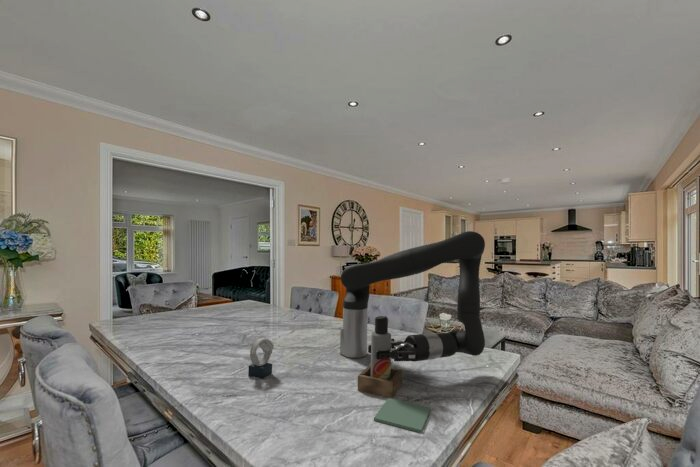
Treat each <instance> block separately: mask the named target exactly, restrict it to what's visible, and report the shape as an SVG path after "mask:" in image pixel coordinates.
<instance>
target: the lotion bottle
mask: <svg viewBox="0 0 700 467" xmlns="http://www.w3.org/2000/svg"><path fill="white" fill-rule="evenodd" d="M370 336H371V337H370V339H371V342H370V345H371V353H370V364H371V377H375V378H380V379H385V380H389V381H390V380H391V368H392V366H391V365H392V359H389V358H387V359H376V351H378V350H379V351H386V350H389V349H392V348H391V339H392V334H391V332H389V318H388V317H387V315H386V316H385V315H383V316H382V315H379V316H377V317H376V316H375V318H374V331H373V332H371V335H370Z"/></svg>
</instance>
